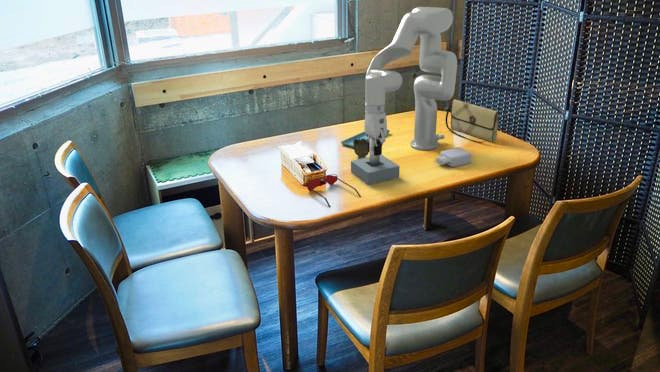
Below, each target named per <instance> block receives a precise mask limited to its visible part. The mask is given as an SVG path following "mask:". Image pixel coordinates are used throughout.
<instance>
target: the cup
mask: <svg viewBox="0 0 660 372" xmlns="http://www.w3.org/2000/svg"><path fill="white" fill-rule="evenodd" d="M353 145H354V148H353V151H354V154H355V155H356V156H357V159H362V158H367V155H369V154H370V152H368V141H367V140H365V138H364V139H363V138H362V139H361V140H360V138H359V140H358V139H355V140H354V142H353Z"/></svg>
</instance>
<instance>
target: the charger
mask: <svg viewBox="0 0 660 372" xmlns="http://www.w3.org/2000/svg"><path fill="white" fill-rule="evenodd" d="M439 154H440V155H439V157H435V158H434V160H433V162H434V163H435V162H436V164H439V165H440V166H441V165H447V166H449V167H451V168H456V167H459V166H464V165H468V164H472V158H473V154H472V153H471V152H470V151H468V150H465V149H464V148H462V147H454V148H450V149H446V150H441V151H440V153H439Z"/></svg>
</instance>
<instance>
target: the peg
mask: <svg viewBox="0 0 660 372" xmlns="http://www.w3.org/2000/svg"><path fill="white" fill-rule="evenodd" d="M378 137H380V136H378ZM378 141H380V139H379V140H377V142H378ZM374 146H375V139H374V138H373V137H371V136H370V152H369V157H370V162H374V163H376V162H379V161H380V155H377V156H374Z"/></svg>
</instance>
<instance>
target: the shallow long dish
mask: <svg viewBox="0 0 660 372" xmlns="http://www.w3.org/2000/svg"><path fill="white" fill-rule="evenodd" d="M390 132H391V130H390V129H388V128H387V135H389V133H390ZM359 138H360V140H361V139H362V138H363V139H364V138H365V140H367V134H366V133H365V130H364V131H362V132H360V133H358V134H355V135H353V136H351V137H348V138H346V139H344V140H342V141H340V143H341V145H342V146H344V147H348V148H351V149H354V145H353V142H354V140H355V139H358V140H359Z"/></svg>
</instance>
